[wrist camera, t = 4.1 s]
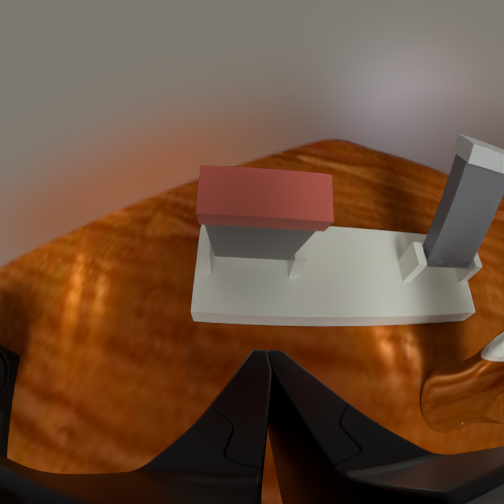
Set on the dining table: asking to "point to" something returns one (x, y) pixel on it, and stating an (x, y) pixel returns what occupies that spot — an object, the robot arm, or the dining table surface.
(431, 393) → the beer glass
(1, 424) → the digital camera
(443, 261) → the grey lever
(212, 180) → the red-capped switch paddle
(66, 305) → the dining table surface
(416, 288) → the switch console
